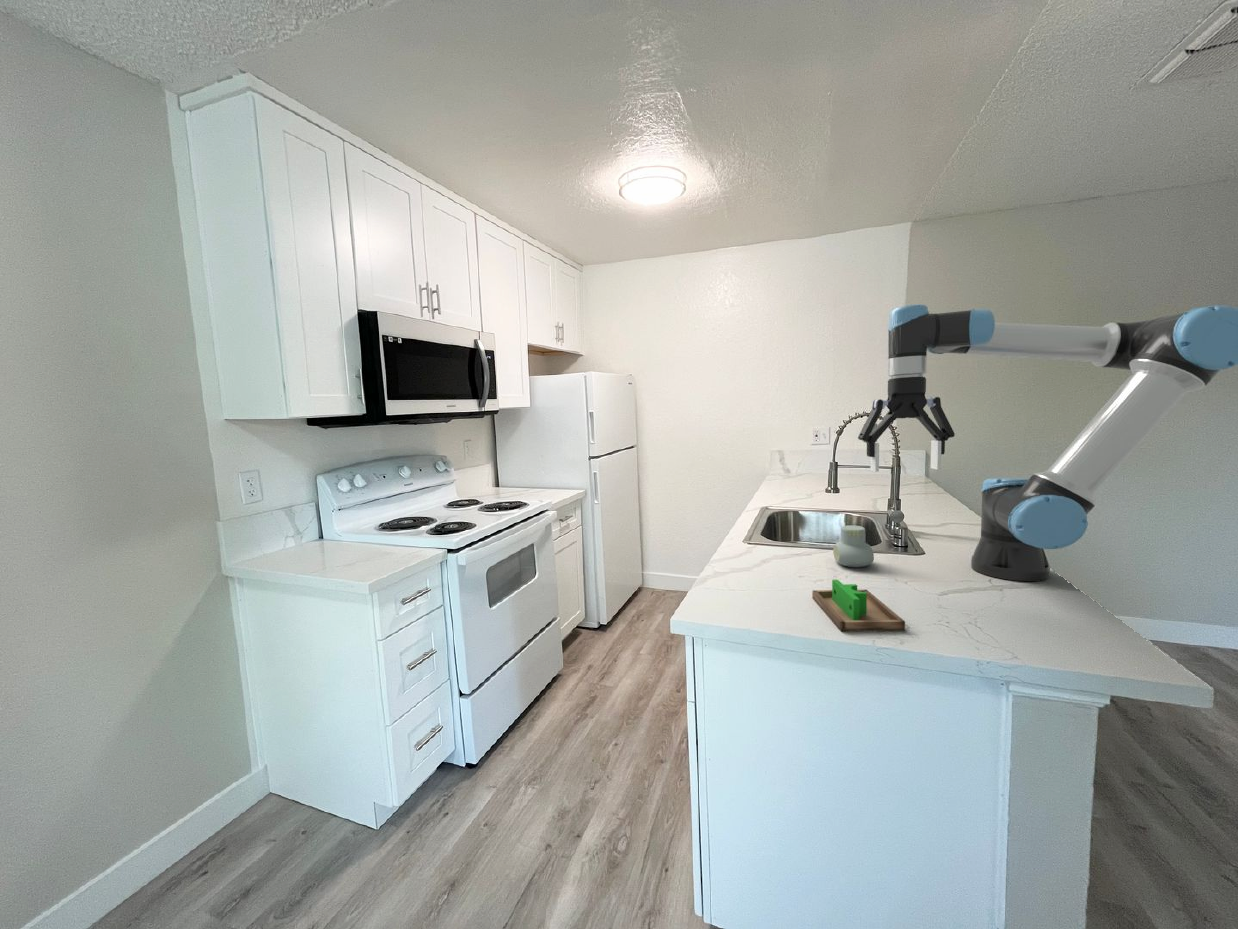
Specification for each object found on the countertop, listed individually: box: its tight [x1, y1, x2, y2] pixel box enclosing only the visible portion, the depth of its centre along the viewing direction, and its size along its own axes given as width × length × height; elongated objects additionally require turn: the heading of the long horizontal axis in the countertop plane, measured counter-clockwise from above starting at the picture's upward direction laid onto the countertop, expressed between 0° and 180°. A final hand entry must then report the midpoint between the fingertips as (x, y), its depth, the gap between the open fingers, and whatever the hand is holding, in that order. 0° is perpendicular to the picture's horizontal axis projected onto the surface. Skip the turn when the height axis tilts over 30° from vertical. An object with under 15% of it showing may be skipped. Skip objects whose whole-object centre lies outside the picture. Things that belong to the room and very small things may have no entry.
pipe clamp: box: [831, 579, 867, 620], centre depth 101 cm, size 11×4×5 cm, turn 177°
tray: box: [811, 589, 906, 632], centre depth 101 cm, size 12×17×2 cm
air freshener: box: [832, 524, 875, 568], centre depth 131 cm, size 11×8×10 cm
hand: (904, 470), depth 114 cm, fingers open, 13 cm apart
